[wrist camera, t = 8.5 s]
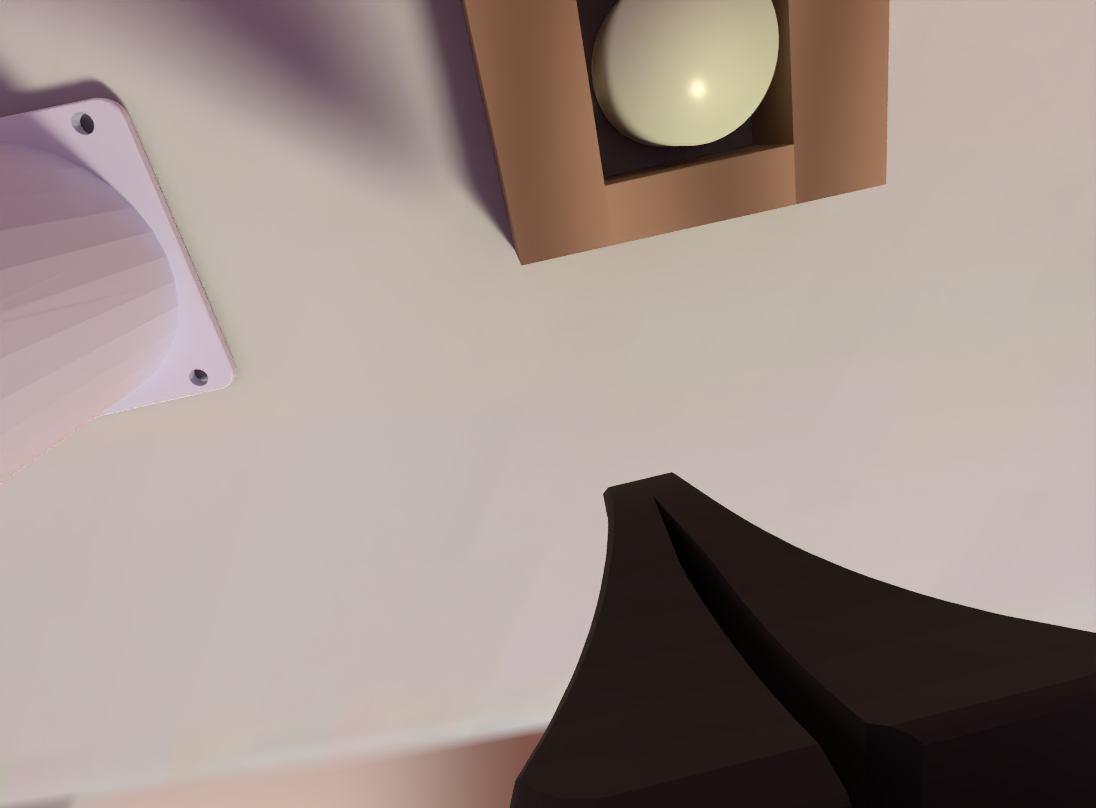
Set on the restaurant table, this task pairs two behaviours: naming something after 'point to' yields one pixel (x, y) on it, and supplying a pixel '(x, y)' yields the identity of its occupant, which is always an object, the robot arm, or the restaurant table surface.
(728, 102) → the sage button
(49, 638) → the restaurant table surface
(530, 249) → the panel
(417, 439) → the restaurant table surface
